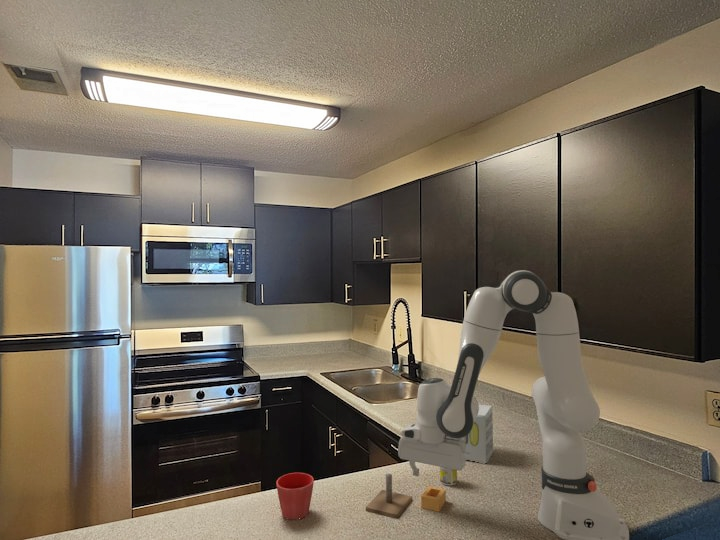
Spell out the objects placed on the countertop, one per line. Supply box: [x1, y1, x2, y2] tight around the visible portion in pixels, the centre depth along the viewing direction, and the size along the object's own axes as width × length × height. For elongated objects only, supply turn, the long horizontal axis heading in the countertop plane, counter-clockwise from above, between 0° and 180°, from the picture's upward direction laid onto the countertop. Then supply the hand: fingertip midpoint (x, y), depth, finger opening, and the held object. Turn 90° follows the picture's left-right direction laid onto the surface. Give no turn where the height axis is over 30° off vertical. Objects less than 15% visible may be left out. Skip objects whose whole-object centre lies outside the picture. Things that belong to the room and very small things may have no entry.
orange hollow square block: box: [420, 485, 447, 513], centre depth 139 cm, size 5×7×4 cm
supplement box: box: [461, 403, 494, 464], centre depth 176 cm, size 17×13×18 cm
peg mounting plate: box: [365, 473, 413, 519], centre depth 139 cm, size 10×12×9 cm
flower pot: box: [275, 472, 315, 520], centre depth 135 cm, size 11×11×10 cm
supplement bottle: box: [439, 467, 458, 486], centre depth 153 cm, size 6×6×10 cm
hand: (430, 478), depth 139 cm, fingers open, 8 cm apart
